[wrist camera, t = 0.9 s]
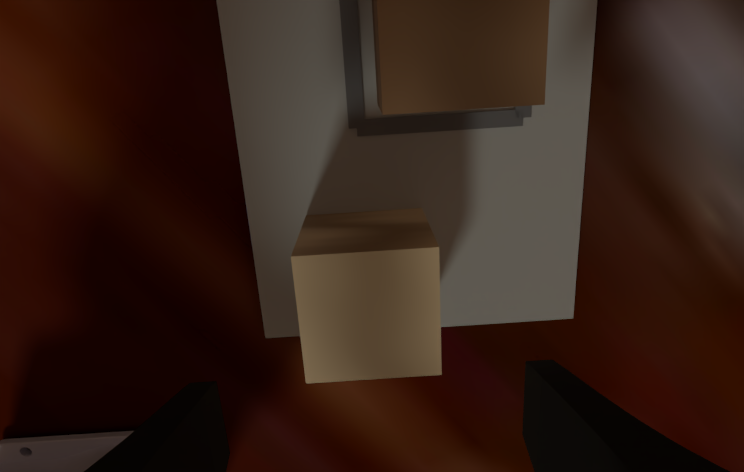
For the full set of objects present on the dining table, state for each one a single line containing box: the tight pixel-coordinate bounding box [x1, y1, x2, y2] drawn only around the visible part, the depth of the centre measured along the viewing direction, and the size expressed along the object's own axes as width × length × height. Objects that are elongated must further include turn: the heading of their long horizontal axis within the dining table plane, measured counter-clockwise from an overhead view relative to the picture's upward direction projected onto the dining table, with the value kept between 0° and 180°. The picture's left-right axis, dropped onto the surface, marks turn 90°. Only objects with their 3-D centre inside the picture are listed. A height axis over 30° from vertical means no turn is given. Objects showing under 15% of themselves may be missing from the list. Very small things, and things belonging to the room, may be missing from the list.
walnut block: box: [372, 0, 550, 115], centre depth 15 cm, size 4×4×4 cm
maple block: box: [291, 208, 442, 383], centre depth 18 cm, size 4×4×4 cm
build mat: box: [216, 0, 597, 338], centre depth 19 cm, size 13×16×1 cm
